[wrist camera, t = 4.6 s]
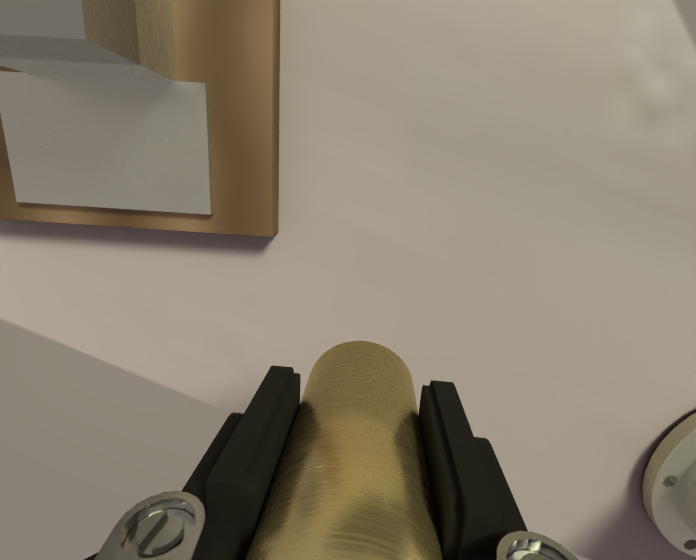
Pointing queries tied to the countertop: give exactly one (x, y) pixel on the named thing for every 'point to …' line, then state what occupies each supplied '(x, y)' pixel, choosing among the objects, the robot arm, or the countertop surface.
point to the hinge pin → (352, 467)
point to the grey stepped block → (102, 107)
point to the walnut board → (225, 122)
